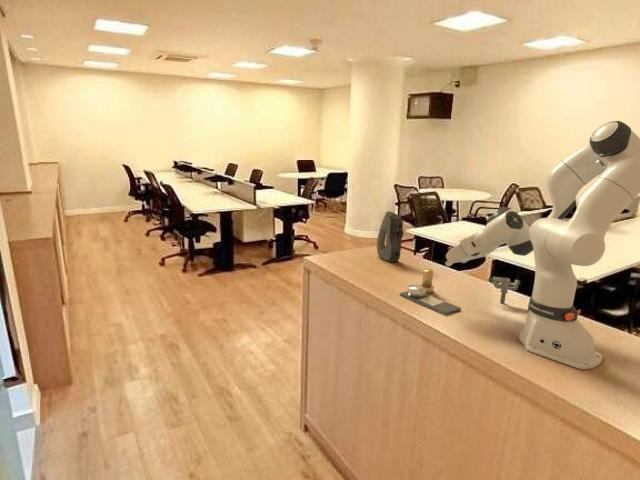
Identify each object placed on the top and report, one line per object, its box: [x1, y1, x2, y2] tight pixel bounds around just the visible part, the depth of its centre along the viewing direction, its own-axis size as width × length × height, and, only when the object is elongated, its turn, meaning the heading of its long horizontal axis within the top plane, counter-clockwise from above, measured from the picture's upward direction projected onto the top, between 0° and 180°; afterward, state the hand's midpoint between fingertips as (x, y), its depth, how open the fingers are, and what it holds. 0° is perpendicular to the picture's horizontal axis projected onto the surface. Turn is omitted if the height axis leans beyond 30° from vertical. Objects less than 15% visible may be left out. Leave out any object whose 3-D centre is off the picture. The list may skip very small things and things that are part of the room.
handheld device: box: [376, 210, 404, 264], centre depth 211 cm, size 6×15×25 cm, turn 36°
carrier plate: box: [399, 283, 462, 316], centre depth 158 cm, size 22×9×4 cm, turn 36°
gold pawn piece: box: [420, 268, 434, 295], centre depth 169 cm, size 6×6×9 cm
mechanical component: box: [490, 276, 521, 305], centre depth 160 cm, size 3×10×10 cm, turn 78°
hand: (454, 262), depth 158 cm, fingers open, 8 cm apart
